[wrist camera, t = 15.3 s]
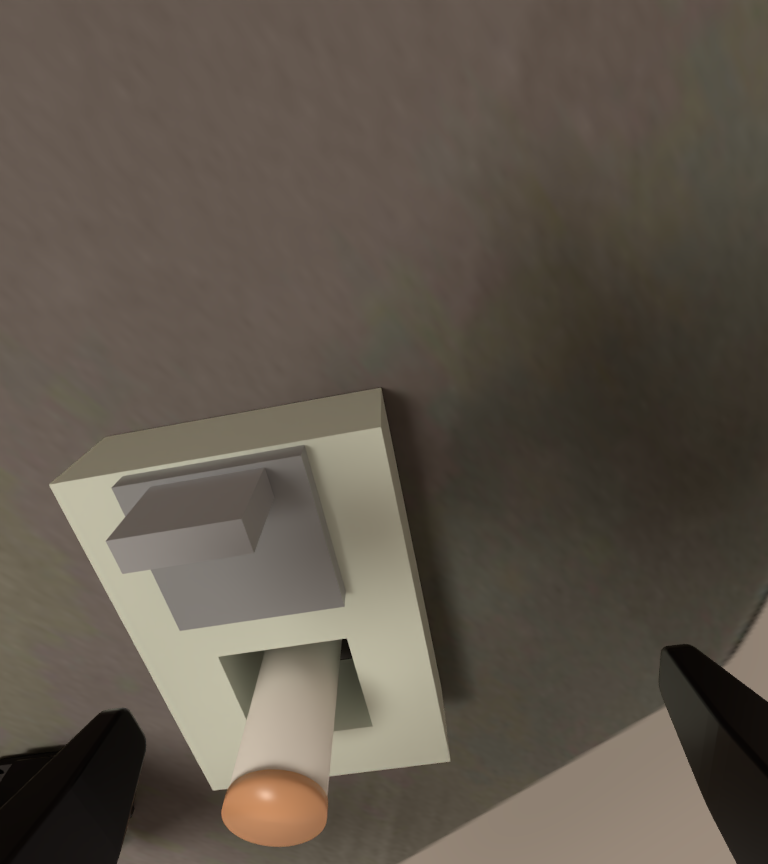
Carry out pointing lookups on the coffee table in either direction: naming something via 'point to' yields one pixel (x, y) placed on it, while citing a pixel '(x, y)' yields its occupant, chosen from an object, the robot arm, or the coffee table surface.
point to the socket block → (247, 641)
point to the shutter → (230, 538)
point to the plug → (286, 748)
